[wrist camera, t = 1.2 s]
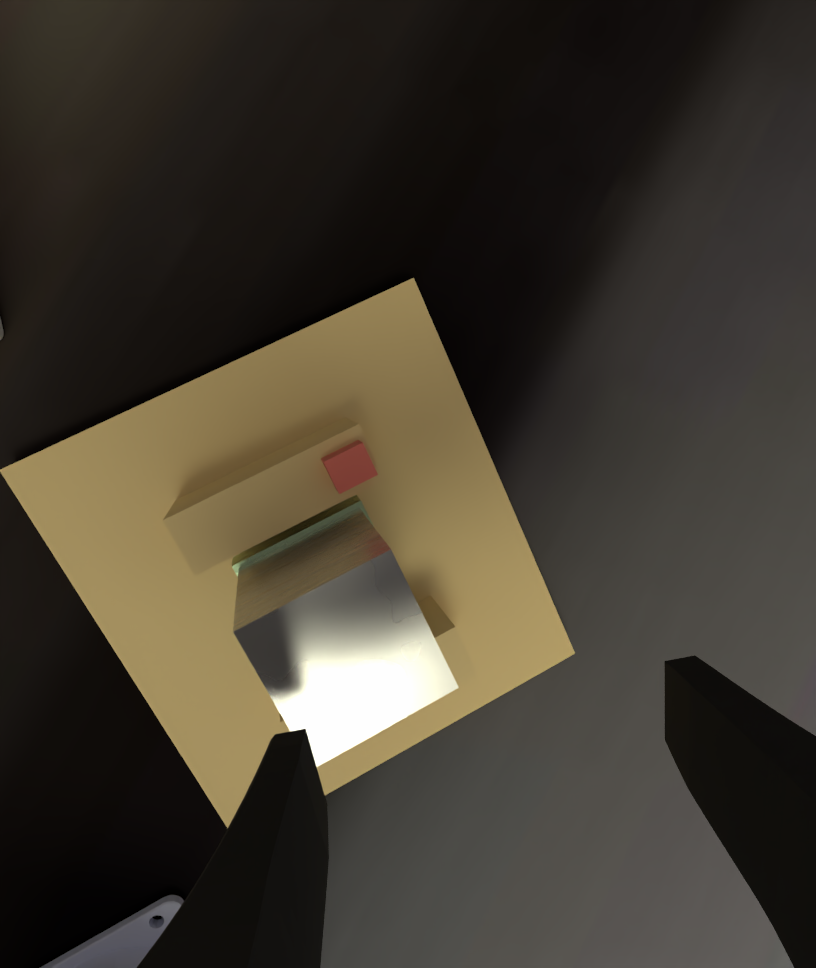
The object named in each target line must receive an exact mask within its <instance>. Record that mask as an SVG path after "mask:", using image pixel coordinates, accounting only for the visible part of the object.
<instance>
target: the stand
mask: <svg viewBox="0 0 816 968" xmlns="http://www.w3.org/2000/svg"><path fill="white" fill-rule="evenodd" d="M0 472H1V474H2V475H3V477H4V478H5V480H6V481H7V483H8V485H9V486H10V488H11V489H12V491H13V492H14V494H15V496H16V497H17V499H18V500H19V502H20V503H21V505H22V507H23V508H24V510H25V511H26V513H27V514H28V516H29V517H30V519H31V521H32V522H33V524H34V525H35V527H36V528H37V530H38V532H39V533H40V535H41V536H42V538H43V539H44V541H45V543H46V544H47V546H48V547H49V549H50V550H51V552H52V554H53V555H54V557H55V558H56V560H57V561H58V563H59V565H60V566H61V568H62V569H63V571H64V572H65V574H66V576H67V577H68V579H69V580H70V582H71V583H72V585H73V586H74V588H75V590H76V591H77V593H78V594H79V596H80V597H81V599H82V601H83V602H84V604H85V605H86V607H87V608H88V610H89V612H90V613H91V615H92V616H93V618H94V619H95V621H96V623H97V624H98V626H99V627H100V629H101V630H102V632H103V634H104V635H105V637H106V638H107V640H108V641H109V643H110V645H111V646H112V648H113V649H114V651H115V652H116V654H117V656H118V657H119V659H120V660H121V662H122V663H123V665H124V666H125V668H126V670H127V671H128V673H129V674H130V676H131V677H132V679H133V681H134V682H135V684H136V685H137V687H138V688H139V690H140V692H141V693H142V695H143V696H144V698H145V699H146V701H147V703H148V704H149V706H150V707H151V709H152V710H153V712H154V714H155V715H156V717H157V718H158V720H159V721H160V723H161V725H162V726H163V728H164V729H165V731H166V732H167V734H168V735H169V737H170V739H171V740H172V742H173V743H174V745H175V746H176V748H177V750H178V751H179V753H180V754H181V756H182V757H183V759H184V761H185V762H186V764H187V765H188V767H189V768H190V770H191V772H192V773H193V775H194V776H195V778H196V779H197V781H198V783H199V784H200V786H201V787H202V789H203V790H204V792H205V794H206V795H207V797H208V798H209V800H210V801H211V803H212V804H213V806H214V808H215V809H216V811H217V812H218V814H219V815H220V817H221V819H222V820H223V822H224V823H225V825H226V826H227V828H228V827H229V825H230V823H231V821H232V819H233V817H234V815H235V814H236V812H237V810H238V808H239V806H240V804H241V802H242V800H243V798H244V796H245V794H246V792H247V790H248V788H249V786H250V784H251V782H252V780H253V778H254V776H255V774H256V772H257V769H258V767H259V765H260V763H261V761H262V758H263V756H264V754H265V752H266V750H267V747H268V745H269V743H270V740H271V739H272V738H273V736H274V735H275V734H279V733H285V732H290V730H289V728H288V726H287V724H286V723H285V721H284V719H283V718H282V716H281V714H280V712H279V711H278V709H277V707H276V705H275V704H274V702H273V700H272V699H271V697H270V695H269V693H268V692H267V690H266V688H265V686H264V685H263V683H262V681H261V680H260V678H259V676H258V674H257V673H256V671H255V669H254V667H253V666H252V664H251V662H250V661H249V659H248V657H247V655H246V654H245V652H244V650H243V648H242V647H241V645H240V643H239V642H238V640H237V638H236V636H235V635H234V633H233V625H234V614H235V603H236V592H237V581H238V577H237V575H236V573H235V571H234V570H233V568H232V560H233V557H234V556H236V555H238V554H240V553H241V552H243V551H245V550H247V549H249V548H251V547H253V546H255V545H257V544H259V543H261V542H263V541H265V540H267V539H269V538H271V537H273V536H275V535H277V534H279V533H281V532H283V531H285V530H287V529H289V528H291V527H293V526H295V525H297V524H299V523H300V522H302V521H304V520H306V519H308V518H310V517H312V516H314V515H316V514H318V513H320V512H322V511H324V510H326V509H328V508H330V507H332V506H334V505H336V504H338V503H340V502H342V501H344V500H346V499H348V498H350V497H353V496H355V495H357V496H358V497H359V499H360V500H361V501H362V504H363V506H364V508H365V510H366V512H367V514H368V516H369V518H370V520H371V522H372V524H373V526H374V528H375V529H376V530H377V532H378V533H379V534H380V535H381V537H382V538H383V539H384V541H385V542H386V543H387V545H388V546H389V547H390V549H391V550H392V552H393V554H394V556H395V558H396V560H397V562H398V565H399V567H400V569H401V571H402V573H403V575H404V577H405V579H406V581H407V583H408V585H409V587H410V589H411V591H412V593H413V595H414V597H415V599H416V601H417V603H418V605H419V607H420V609H421V611H422V614H423V616H424V618H425V620H426V622H427V624H428V626H429V628H430V630H431V632H432V634H433V636H434V638H435V640H436V642H437V644H438V646H439V648H440V650H441V652H442V654H443V656H444V658H445V660H446V663H447V665H448V667H449V669H450V671H451V673H452V675H453V677H454V679H455V681H456V683H457V685H458V687H459V688H457V689H455V690H454V691H452V692H450V693H448V694H446V695H445V696H443V697H441V698H439V699H438V700H436V701H434V702H432V703H430V704H429V705H427V706H425V707H423V708H421V709H420V710H418V711H416V712H414V713H413V714H411V715H409V716H407V717H405V718H404V719H402V720H400V721H398V722H397V723H395V724H393V725H391V726H389V727H388V728H386V729H384V730H382V731H380V732H379V733H377V734H375V735H373V736H372V737H370V738H368V739H366V740H364V741H363V742H361V743H359V744H357V745H355V746H354V747H352V748H350V749H348V750H347V751H345V752H343V753H341V754H339V755H338V756H336V757H334V758H332V759H330V760H329V761H327V762H325V763H323V764H322V765H320V766H318V767H317V770H318V774H319V777H320V781H321V784H322V788H323V791H324V795H327V794H328V793H330V792H332V791H334V790H335V789H337V788H339V787H341V786H342V785H344V784H346V783H348V782H349V781H351V780H353V779H355V778H356V777H358V776H360V775H362V774H364V773H365V772H367V771H369V770H371V769H372V768H374V767H376V766H378V765H379V764H381V763H383V762H385V761H386V760H388V759H390V758H392V757H393V756H395V755H397V754H399V753H401V752H402V751H404V750H406V749H408V748H409V747H411V746H413V745H415V744H416V743H418V742H420V741H422V740H423V739H425V738H427V737H429V736H430V735H432V734H434V733H436V732H438V731H439V730H441V729H443V728H445V727H446V726H448V725H450V724H452V723H453V722H455V721H457V720H459V719H460V718H462V717H464V716H466V715H467V714H469V713H471V712H473V711H475V710H476V709H478V708H480V707H482V706H483V705H485V704H487V703H489V702H490V701H492V700H494V699H496V698H497V697H499V696H501V695H503V694H504V693H506V692H508V691H510V690H512V689H513V688H515V687H517V686H519V685H520V684H522V683H524V682H526V681H527V680H529V679H531V678H533V677H534V676H536V675H538V674H540V673H541V672H543V671H545V670H547V669H549V668H550V667H552V666H554V665H556V664H557V663H559V662H561V661H563V660H564V659H566V658H568V657H570V656H571V655H573V654H575V652H574V650H573V648H572V645H571V643H570V641H569V638H568V636H567V634H566V631H565V629H564V627H563V624H562V622H561V620H560V617H559V615H558V613H557V610H556V608H555V606H554V603H553V601H552V599H551V596H550V594H549V592H548V589H547V587H546V585H545V582H544V580H543V578H542V575H541V573H540V571H539V568H538V566H537V564H536V561H535V559H534V557H533V554H532V552H531V550H530V547H529V545H528V543H527V540H526V538H525V536H524V534H523V531H522V529H521V527H520V524H519V522H518V520H517V517H516V515H515V513H514V510H513V508H512V506H511V503H510V501H509V499H508V496H507V494H506V492H505V489H504V487H503V485H502V482H501V480H500V478H499V475H498V473H497V471H496V468H495V466H494V464H493V461H492V459H491V457H490V454H489V452H488V450H487V447H486V445H485V443H484V440H483V438H482V436H481V433H480V431H479V429H478V426H477V424H476V422H475V419H474V417H473V415H472V412H471V410H470V408H469V405H468V403H467V401H466V398H465V396H464V394H463V391H462V389H461V387H460V384H459V382H458V380H457V377H456V375H455V373H454V370H453V368H452V366H451V364H450V361H449V359H448V357H447V354H446V352H445V350H444V347H443V345H442V343H441V340H440V338H439V336H438V333H437V331H436V329H435V326H434V324H433V322H432V319H431V317H430V315H429V312H428V310H427V308H426V305H425V303H424V301H423V298H422V296H421V294H420V291H419V289H418V287H417V284H416V282H415V280H414V278H412V279H410V280H408V281H405V282H403V283H401V284H399V285H397V286H395V287H393V288H390V289H388V290H386V291H384V292H382V293H380V294H377V295H375V296H373V297H371V298H369V299H367V300H365V301H362V302H360V303H358V304H356V305H354V306H352V307H349V308H347V309H345V310H343V311H341V312H339V313H337V314H334V315H332V316H330V317H328V318H326V319H324V320H321V321H319V322H317V323H315V324H313V325H311V326H309V327H306V328H304V329H302V330H300V331H298V332H296V333H293V334H291V335H289V336H287V337H285V338H283V339H281V340H278V341H276V342H274V343H272V344H270V345H268V346H265V347H263V348H261V349H259V350H257V351H255V352H253V353H250V354H248V355H246V356H244V357H242V358H240V359H237V360H235V361H233V362H231V363H229V364H227V365H225V366H222V367H220V368H218V369H216V370H214V371H212V372H209V373H207V374H205V375H203V376H201V377H199V378H197V379H194V380H192V381H190V382H188V383H186V384H184V385H181V386H179V387H177V388H175V389H173V390H171V391H169V392H166V393H164V394H162V395H160V396H158V397H156V398H153V399H151V400H149V401H147V402H145V403H143V404H141V405H138V406H136V407H134V408H132V409H130V410H128V411H125V412H123V413H121V414H119V415H117V416H115V417H113V418H110V419H108V420H106V421H104V422H102V423H100V424H97V425H95V426H93V427H91V428H89V429H87V430H85V431H82V432H80V433H78V434H76V435H74V436H72V437H69V438H67V439H65V440H63V441H61V442H59V443H57V444H54V445H52V446H50V447H48V448H46V449H44V450H41V451H39V452H37V453H35V454H33V455H31V456H29V457H26V458H24V459H22V460H20V461H18V462H16V463H13V464H11V465H9V466H7V467H5V468H3V469H1V470H0Z"/></svg>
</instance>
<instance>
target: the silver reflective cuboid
mask: <svg viewBox="0 0 816 968" xmlns="http://www.w3.org/2000/svg"><path fill="white" fill-rule="evenodd" d="M232 568H233V570H234V571H235V573H236V575H237V577H238V581H237V592H236V603H235V614H234V625H233V633H234V635H235V636H236V638H237V640H238V642H239V643H240V645H241V647H242V648H243V650H244V652H245V654H246V655H247V657H248V659H249V661H250V662H251V664H252V666H253V667H254V669H255V671H256V673H257V674H258V676H259V678H260V680H261V681H262V683H263V685H264V686H265V688H266V690H267V692H268V693H269V695H270V697H271V699H272V700H273V702H274V704H275V705H276V707H277V709H278V711H279V712H280V714H281V716H282V718H283V719H284V721H285V723H286V724H287V726H288V728H289V730H290V731H295V730H301V729H306V732H307V735H308V739H309V742H310V746H311V749H312V753H313V756H314V760H315V763H316V767H318V766H320V765H322V764H323V763H325V762H327V761H329V760H330V759H332V758H334V757H336V756H338V755H339V754H341V753H343V752H345V751H347V750H348V749H350V748H352V747H354V746H355V745H357V744H359V743H361V742H363V741H364V740H366V739H368V738H370V737H372V736H373V735H375V734H377V733H379V732H380V731H382V730H384V729H386V728H388V727H389V726H391V725H393V724H395V723H397V722H398V721H400V720H402V719H404V718H405V717H407V716H409V715H411V714H413V713H414V712H416V711H418V710H420V709H421V708H423V707H425V706H427V705H429V704H430V703H432V702H434V701H436V700H438V699H439V698H441V697H443V696H445V695H446V694H448V693H450V692H452V691H454V690H455V689H457V688H459V687H458V685H457V683H456V681H455V679H454V677H453V675H452V673H451V671H450V669H449V667H448V665H447V663H446V660H445V658H444V656H443V654H442V652H441V650H440V648H439V646H438V644H437V642H436V640H435V638H434V636H433V634H432V632H431V630H430V628H429V626H428V624H427V622H426V620H425V618H424V616H423V614H422V611H421V609H420V607H419V605H418V603H417V601H416V599H415V597H414V595H413V593H412V591H411V589H410V587H409V585H408V583H407V581H406V579H405V577H404V575H403V573H402V571H401V569H400V567H399V565H398V562H397V560H396V558H395V556H394V554H393V552H392V550H391V549H390V547H389V546H388V545H387V543H386V542H385V541H384V539H383V538H382V537H381V535H380V534H379V533H378V532H377V530H376V529H375V528H374V526H373V524H372V522H371V520H370V518H369V516H368V514H367V512H366V510H365V508H364V506H363V504H362V501H361V500H360V499H359V497H358V496H357V495H355V496H353V497H350V498H348V499H346V500H344V501H342V502H340V503H338V504H336V505H334V506H332V507H330V508H328V509H326V510H324V511H322V512H320V513H318V514H316V515H314V516H312V517H310V518H308V519H306V520H304V521H302V522H300V523H299V524H297V525H295V526H293V527H291V528H289V529H287V530H285V531H283V532H281V533H279V534H277V535H275V536H273V537H271V538H269V539H267V540H265V541H263V542H261V543H259V544H257V545H255V546H253V547H251V548H249V549H247V550H245V551H243V552H241V553H240V554H238V555H236V556H234V557H233V560H232Z"/></svg>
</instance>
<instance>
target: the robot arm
mask: <svg viewBox="0 0 816 968" xmlns="http://www.w3.org/2000/svg"><path fill="white" fill-rule="evenodd" d="M665 741H666V743H667V745H668V747H669V750H670V752H671V754H672V756H673V758H674V760H675V763H676V765H677V767H678V769H679V771H680V773H681V775H682V777H683V779H684V781H685V783H686V785H687V787H688V789H689V791H690V793H691V794H692V796H693V797H694V799H695V801H696V802H697V804H698V806H699V807H700V809H701V810H702V812H703V814H704V815H705V817H706V818H707V820H708V822H709V823H710V825H711V826H712V828H713V830H714V831H715V833H716V834H717V836H718V838H719V839H720V841H721V842H722V844H723V846H724V847H725V849H726V850H727V852H728V853H729V855H730V857H731V858H732V860H733V861H734V863H735V865H736V866H737V868H738V869H739V871H740V872H741V874H742V876H743V877H744V879H745V880H746V882H747V884H748V885H749V887H750V888H751V890H752V892H753V893H754V895H755V896H756V898H757V899H758V901H759V903H760V905H761V906H762V908H763V910H764V911H765V913H766V915H767V917H768V918H769V920H770V922H771V924H772V925H773V927H774V929H775V931H776V933H777V935H778V937H779V939H780V941H781V943H782V944H783V946H784V948H785V950H786V952H787V954H788V956H789V958H790V960H791V962H792V964H793V966H794V968H816V736H815V735H813V734H811V733H810V732H808V731H806V730H805V729H803V728H802V727H800V726H798V725H797V724H795V723H794V722H792V721H791V720H789V719H787V718H786V717H784V716H783V715H781V714H780V713H778V712H777V711H775V710H774V709H772V708H771V707H769V706H768V705H766V704H765V703H763V702H762V701H760V700H759V699H757V698H756V697H754V696H753V695H751V694H750V693H748V692H747V691H745V690H744V689H743V688H741V687H740V686H738V685H737V684H735V683H734V682H732V681H731V680H729V679H728V678H727V677H725V676H724V675H722V674H721V673H719V672H718V671H717V670H715V669H714V668H712V667H711V666H709V665H708V664H706V663H705V662H704V661H702V660H701V659H699V658H698V657H696V656H690V657H685V658H680V659H674V660H669V661H665ZM328 859H329V854H328V818H327V802H326V799H325V795H324V791H323V788H322V784H321V781H320V777H319V774H318V770H317V767H316V763H315V760H314V756H313V753H312V749H311V746H310V742H309V739H308V735H307V732H306V729H301V730H295V731H290V732H285V733H279V734H275V735H274V736H273V738H272V739H271V740H270V743H269V745H268V747H267V750H266V752H265V754H264V756H263V758H262V761H261V763H260V765H259V767H258V769H257V772H256V774H255V776H254V778H253V780H252V782H251V784H250V786H249V788H248V790H247V792H246V794H245V796H244V798H243V800H242V802H241V804H240V806H239V808H238V810H237V812H236V814H235V815H234V817H233V819H232V821H231V823H230V825H229V827H228V829H227V831H226V833H225V834H224V836H223V838H222V840H221V841H220V843H219V845H218V847H217V848H216V850H215V852H214V853H213V855H212V857H211V858H210V860H209V862H208V864H207V865H206V867H205V869H204V870H203V872H202V874H201V875H200V877H199V879H198V880H197V882H196V883H195V885H194V887H193V888H192V890H191V891H190V893H189V894H188V896H187V898H186V899H185V901H184V900H183V899H182V898H181V897H180V896H177V895H168V896H165V897H163V898H161V899H160V900H158V901H156V902H154V903H153V904H151V905H149V906H147V907H146V908H144V909H142V910H140V911H139V912H137V913H135V914H133V915H131V916H130V917H128V918H126V919H124V920H123V921H121V922H119V923H117V924H116V925H114V926H112V927H110V928H109V929H107V930H105V931H103V932H102V933H100V934H98V935H96V936H95V937H93V938H91V939H89V940H88V941H86V942H84V943H82V944H81V945H79V946H77V947H75V948H74V949H72V950H70V951H68V952H67V953H65V954H63V955H61V956H60V957H58V958H56V959H54V960H52V961H51V962H49V963H47V964H45V965H44V966H42V967H40V968H320V963H321V950H322V938H323V925H324V913H325V900H326V887H327V874H328ZM156 915H158V916H162V917H163V918H162V919H159V920H156V919H153V918H152V917H153V916H156Z"/></svg>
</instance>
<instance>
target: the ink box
mask: <svg viewBox="0 0 816 968" xmlns="http://www.w3.org/2000/svg"><path fill="white" fill-rule="evenodd" d="M3 336H4V331H3V327H2V323H1V318H0V340H1V339H2V338H3Z"/></svg>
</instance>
